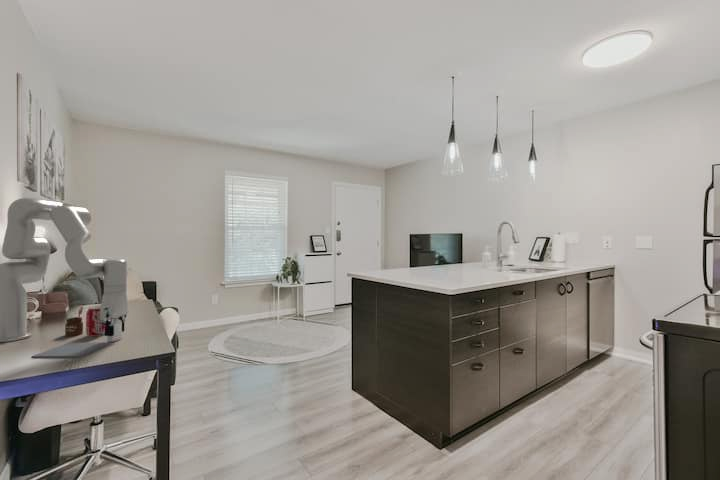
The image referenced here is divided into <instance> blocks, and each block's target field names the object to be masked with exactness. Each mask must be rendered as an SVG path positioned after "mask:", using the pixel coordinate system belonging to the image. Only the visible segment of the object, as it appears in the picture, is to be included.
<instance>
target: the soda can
mask: <svg viewBox="0 0 720 480" xmlns="http://www.w3.org/2000/svg"><path fill="white" fill-rule="evenodd" d="M100 310H101V305H97V306H91V307H88V309H87V311H86V315H85V316H86V318H85V333H86V336H88V337H91V338H93V337H94V338H95V337H99V336H103V335H105V326H104V324H103V322H102V321H101V320H100Z"/></svg>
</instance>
